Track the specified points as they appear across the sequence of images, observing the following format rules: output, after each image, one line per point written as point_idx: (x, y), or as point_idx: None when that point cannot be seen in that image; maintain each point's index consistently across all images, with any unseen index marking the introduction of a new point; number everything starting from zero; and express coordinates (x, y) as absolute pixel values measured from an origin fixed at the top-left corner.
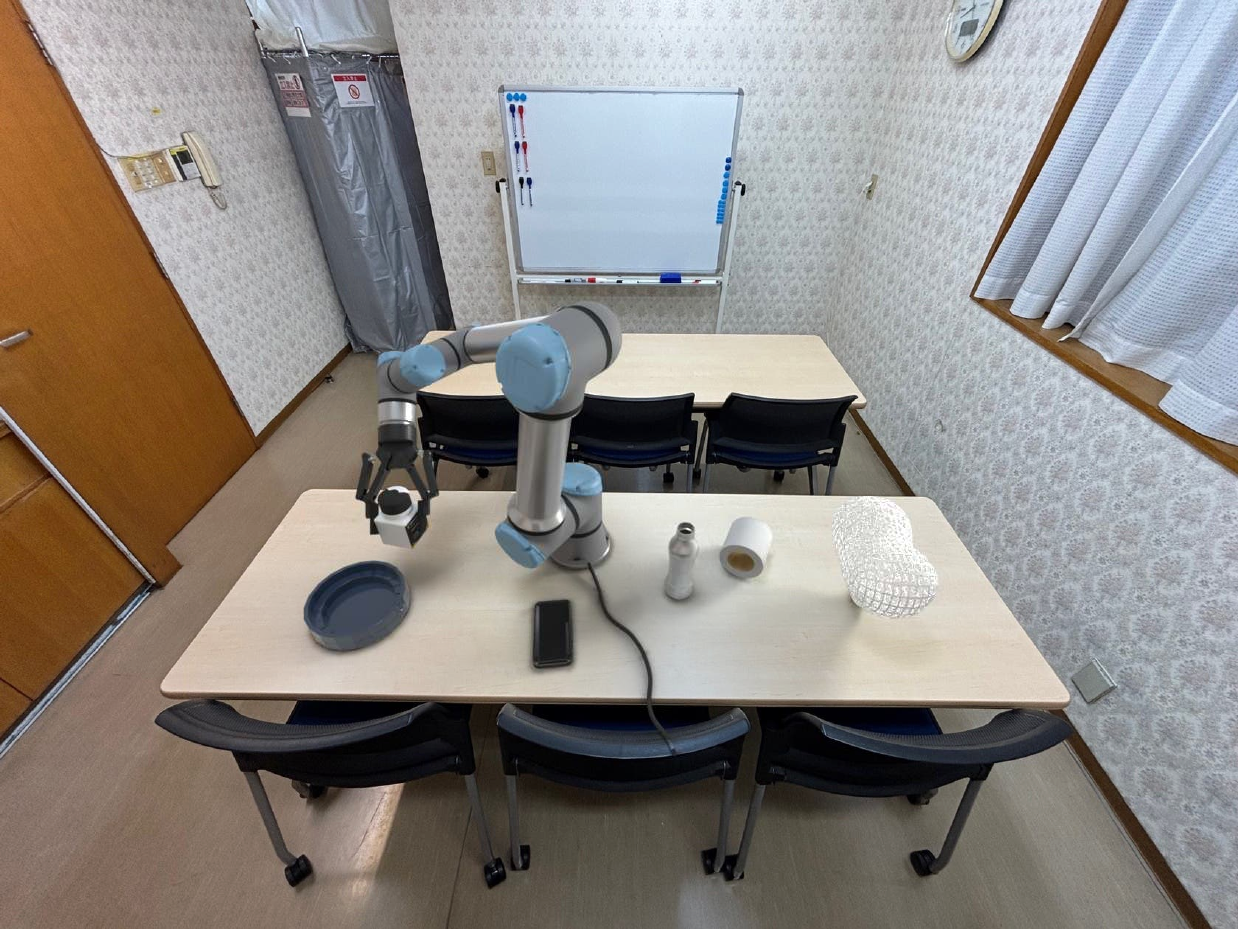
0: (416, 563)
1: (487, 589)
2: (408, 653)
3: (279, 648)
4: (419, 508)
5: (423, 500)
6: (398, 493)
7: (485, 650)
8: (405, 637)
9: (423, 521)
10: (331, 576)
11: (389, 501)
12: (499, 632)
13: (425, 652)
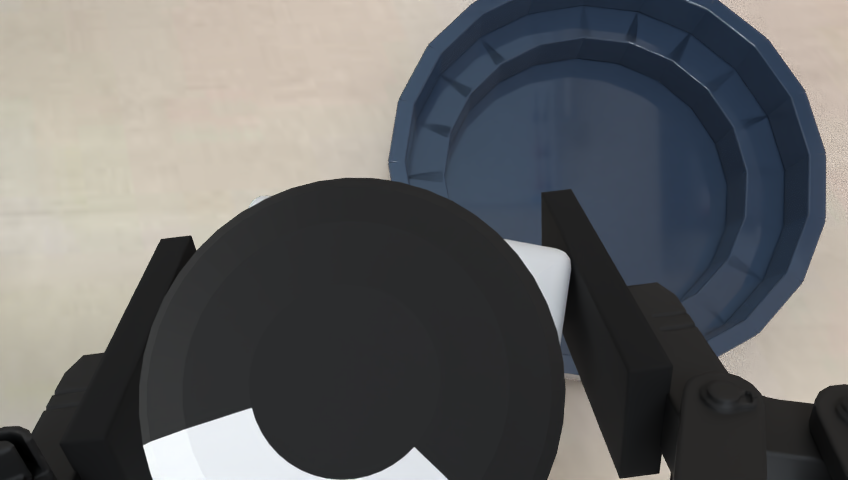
0: None
1: (86, 317)
2: (334, 26)
3: (806, 28)
4: (114, 368)
5: (60, 467)
6: (247, 379)
7: (62, 46)
8: (367, 85)
9: None
10: (788, 267)
11: (333, 219)
12: (17, 117)
13: (275, 32)
